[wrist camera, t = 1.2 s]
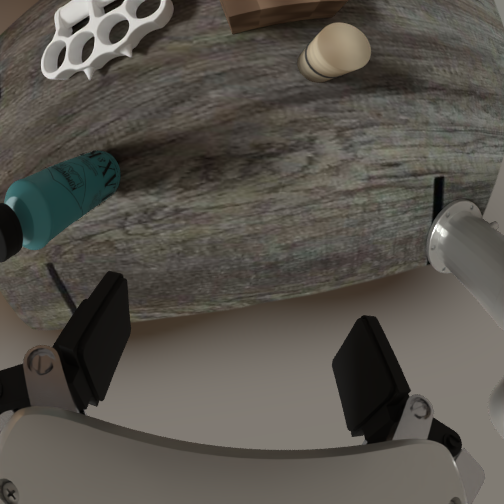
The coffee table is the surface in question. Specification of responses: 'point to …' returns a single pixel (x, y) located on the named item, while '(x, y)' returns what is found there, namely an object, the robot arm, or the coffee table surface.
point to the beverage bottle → (54, 200)
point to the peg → (334, 53)
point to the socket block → (275, 12)
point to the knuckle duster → (97, 35)
